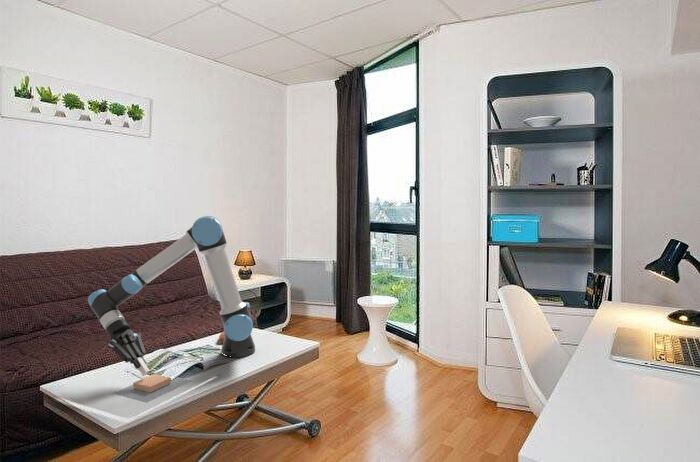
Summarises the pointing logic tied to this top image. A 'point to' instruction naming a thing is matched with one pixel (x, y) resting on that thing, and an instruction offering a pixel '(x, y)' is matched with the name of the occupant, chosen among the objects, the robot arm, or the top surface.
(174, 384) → the board
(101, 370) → the top surface
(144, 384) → the tile
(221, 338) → the ceramic shard
